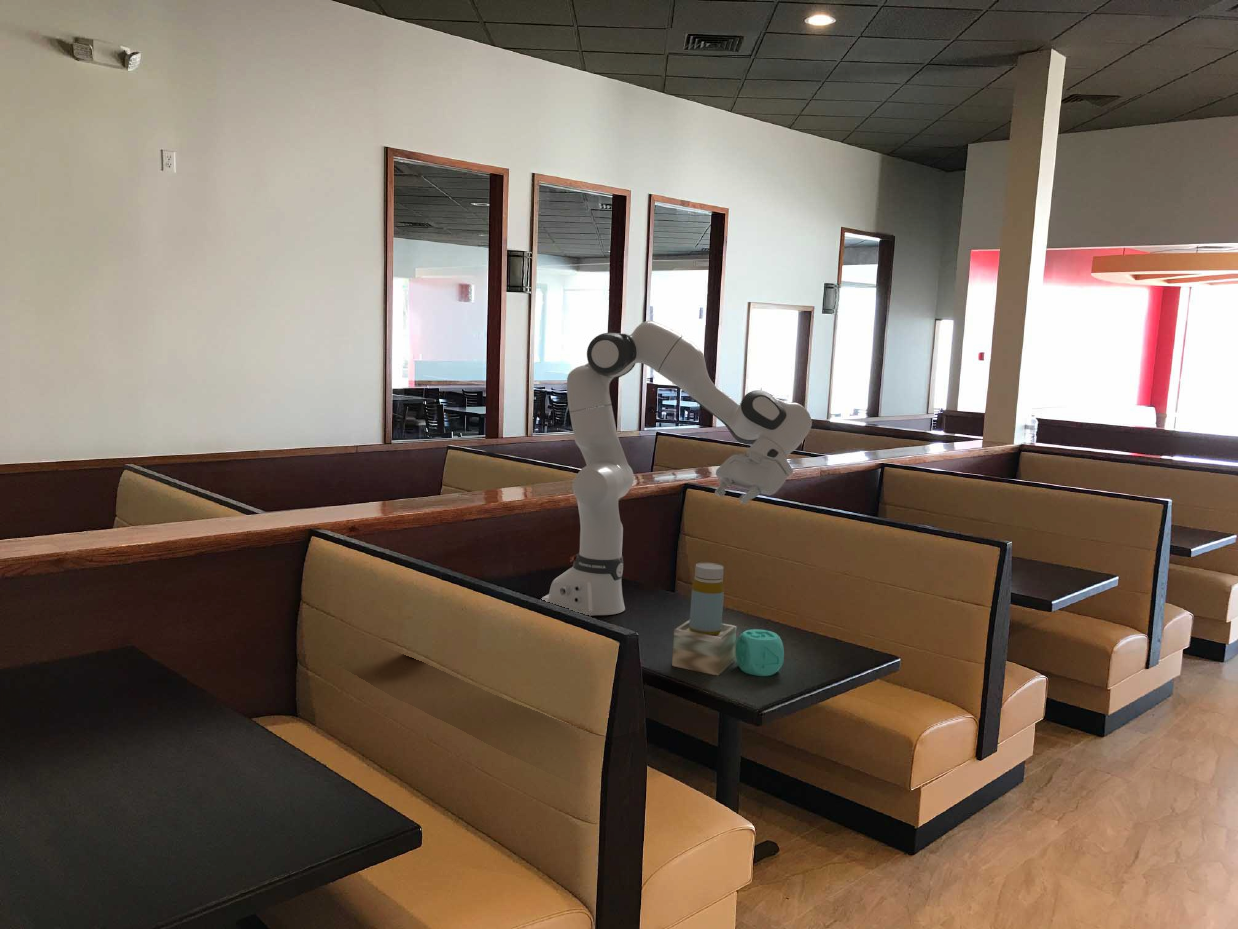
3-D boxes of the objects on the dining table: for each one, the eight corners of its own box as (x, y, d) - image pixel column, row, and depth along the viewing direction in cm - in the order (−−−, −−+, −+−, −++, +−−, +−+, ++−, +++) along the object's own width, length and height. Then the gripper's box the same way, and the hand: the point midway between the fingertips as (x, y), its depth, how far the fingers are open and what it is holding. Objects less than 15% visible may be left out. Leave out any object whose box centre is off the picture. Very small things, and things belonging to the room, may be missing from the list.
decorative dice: (783, 675, 200) (785, 639, 199) (748, 677, 198) (751, 641, 197) (767, 663, 208) (769, 628, 207) (734, 664, 205) (736, 629, 204)
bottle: (723, 630, 206) (728, 564, 204) (716, 639, 200) (721, 571, 198) (693, 625, 209) (697, 560, 207) (685, 634, 202) (690, 567, 200)
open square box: (672, 665, 202) (674, 629, 201) (690, 652, 212) (692, 617, 211) (717, 675, 198) (720, 638, 197) (734, 661, 207) (736, 626, 206)
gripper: (731, 443, 234) (697, 482, 230) (786, 454, 217) (749, 497, 213) (744, 460, 237) (710, 499, 233) (798, 473, 220) (762, 515, 216)
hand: (729, 498), depth 223 cm, fingers open, 8 cm apart
